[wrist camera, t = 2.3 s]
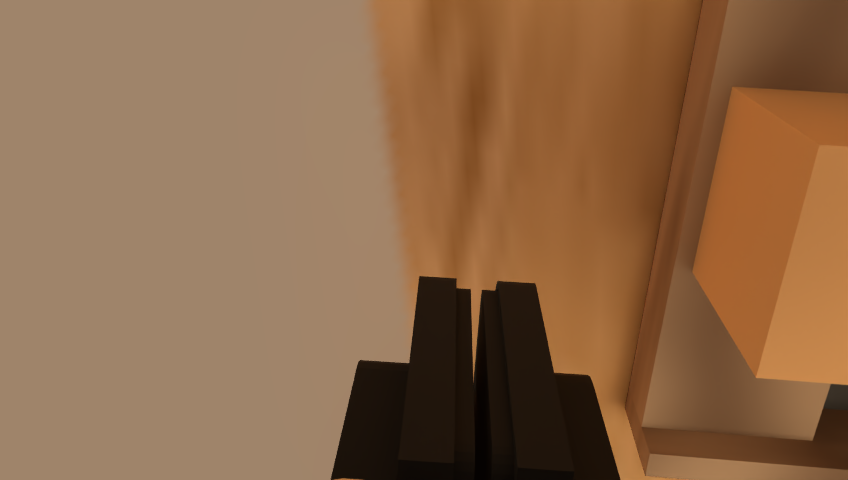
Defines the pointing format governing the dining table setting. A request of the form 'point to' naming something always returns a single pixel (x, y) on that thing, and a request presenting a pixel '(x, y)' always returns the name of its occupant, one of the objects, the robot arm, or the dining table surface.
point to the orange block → (781, 233)
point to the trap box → (687, 302)
